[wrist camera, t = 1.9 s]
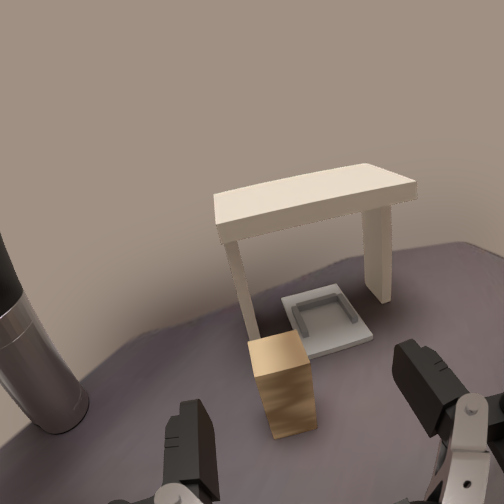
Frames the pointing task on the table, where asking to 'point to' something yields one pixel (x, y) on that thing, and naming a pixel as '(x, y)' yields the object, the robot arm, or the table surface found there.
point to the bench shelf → (309, 211)
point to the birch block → (284, 383)
